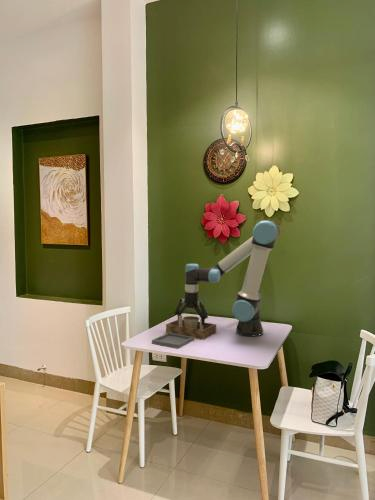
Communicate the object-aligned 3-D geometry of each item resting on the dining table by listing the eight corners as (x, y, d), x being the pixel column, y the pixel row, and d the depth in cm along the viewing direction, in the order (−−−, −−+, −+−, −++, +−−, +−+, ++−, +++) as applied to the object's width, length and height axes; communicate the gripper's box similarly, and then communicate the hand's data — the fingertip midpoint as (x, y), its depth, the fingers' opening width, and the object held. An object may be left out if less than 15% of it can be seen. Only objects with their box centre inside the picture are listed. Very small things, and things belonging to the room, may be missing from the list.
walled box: (216, 333, 219) (216, 324, 219) (203, 339, 206) (204, 330, 206) (179, 327, 231) (179, 318, 231) (166, 333, 218) (166, 324, 218)
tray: (194, 340, 205) (194, 337, 205) (178, 348, 191) (178, 345, 191) (168, 335, 213) (168, 332, 213) (151, 343, 199) (151, 340, 199)
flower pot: (200, 331, 223) (200, 316, 222) (198, 335, 213) (199, 320, 213) (183, 330, 224) (183, 315, 223) (181, 335, 214) (182, 319, 214)
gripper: (214, 292, 214) (213, 330, 216) (176, 288, 226) (175, 323, 228) (208, 294, 208) (207, 333, 209) (169, 290, 220) (168, 326, 221)
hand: (190, 328), depth 219 cm, fingers open, 13 cm apart
